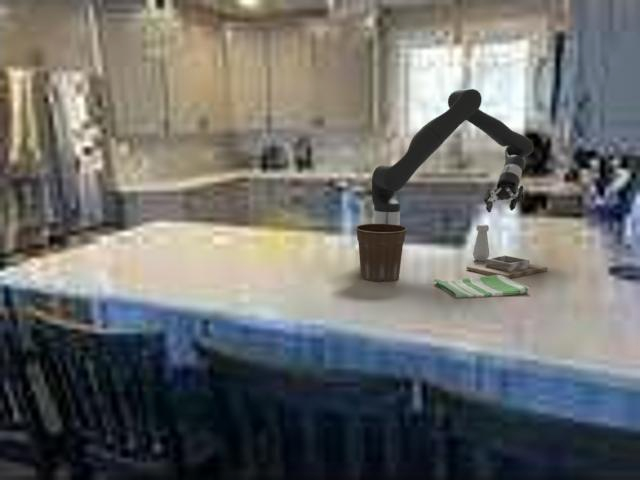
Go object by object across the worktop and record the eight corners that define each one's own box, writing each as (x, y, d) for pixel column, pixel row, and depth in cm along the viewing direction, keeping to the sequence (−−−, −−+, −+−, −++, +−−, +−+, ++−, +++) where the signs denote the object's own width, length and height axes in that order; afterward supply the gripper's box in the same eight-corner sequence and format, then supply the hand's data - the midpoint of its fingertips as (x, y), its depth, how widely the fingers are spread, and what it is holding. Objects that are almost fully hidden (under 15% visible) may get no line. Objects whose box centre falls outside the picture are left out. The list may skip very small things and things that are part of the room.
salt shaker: (489, 262, 249) (491, 226, 247) (472, 261, 250) (474, 225, 248) (488, 259, 255) (490, 223, 253) (472, 258, 256) (474, 222, 254)
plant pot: (391, 286, 212) (392, 233, 209) (344, 279, 220) (345, 228, 217) (413, 276, 226) (415, 226, 223) (369, 270, 234) (370, 221, 231)
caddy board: (505, 279, 224) (506, 267, 223) (466, 270, 236) (467, 259, 235) (547, 270, 237) (547, 259, 236) (508, 262, 249) (508, 252, 249)
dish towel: (432, 285, 216) (432, 276, 216) (502, 282, 221) (502, 273, 221) (456, 300, 199) (456, 290, 199) (531, 296, 204) (532, 287, 204)
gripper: (488, 173, 265) (477, 204, 256) (525, 169, 256) (515, 200, 247) (495, 187, 269) (484, 218, 260) (531, 184, 260) (522, 215, 251)
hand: (499, 209), depth 253 cm, fingers open, 8 cm apart
